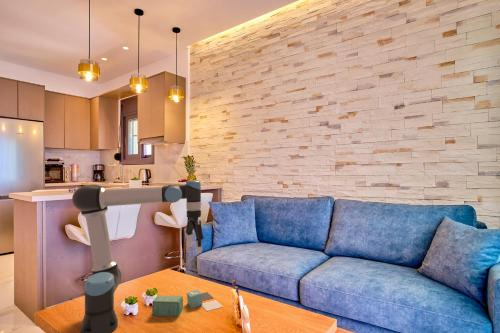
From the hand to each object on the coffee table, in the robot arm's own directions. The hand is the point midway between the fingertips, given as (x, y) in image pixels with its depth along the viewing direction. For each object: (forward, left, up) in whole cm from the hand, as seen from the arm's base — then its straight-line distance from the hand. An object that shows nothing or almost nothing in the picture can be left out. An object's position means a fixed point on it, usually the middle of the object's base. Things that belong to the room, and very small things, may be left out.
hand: (194, 249), depth 154 cm
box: (-14, -1, -30) cm, 33 cm away
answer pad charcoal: (+7, +6, -29) cm, 31 cm away
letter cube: (0, 0, -29) cm, 29 cm away
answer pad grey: (+7, -6, -29) cm, 31 cm away
